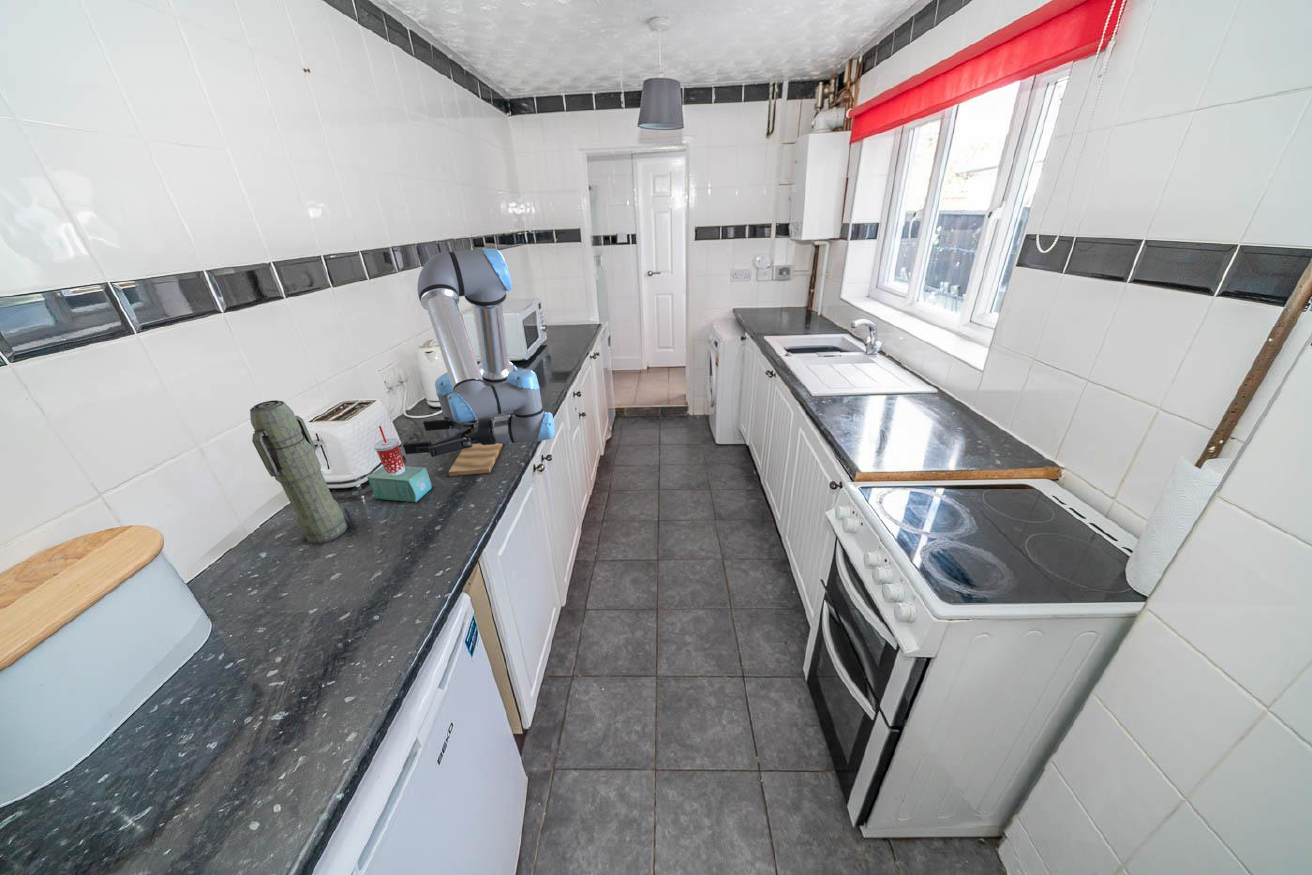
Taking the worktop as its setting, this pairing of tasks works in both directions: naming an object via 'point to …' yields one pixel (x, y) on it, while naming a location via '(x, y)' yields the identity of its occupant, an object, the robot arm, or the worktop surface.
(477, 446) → the chopping board
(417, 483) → the box
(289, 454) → the thermos
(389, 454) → the beverage cup
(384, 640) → the worktop surface
